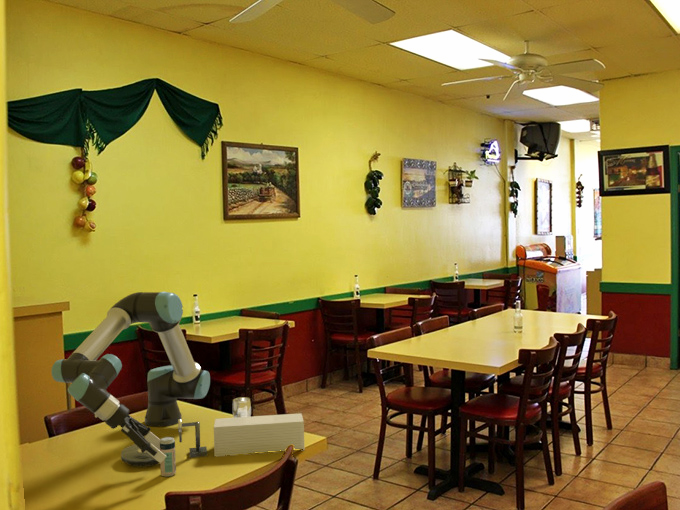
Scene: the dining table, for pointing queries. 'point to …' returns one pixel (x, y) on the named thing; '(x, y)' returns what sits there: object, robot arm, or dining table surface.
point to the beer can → (168, 456)
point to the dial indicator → (198, 450)
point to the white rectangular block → (258, 434)
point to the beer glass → (241, 407)
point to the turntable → (136, 456)
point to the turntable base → (145, 464)
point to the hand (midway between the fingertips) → (162, 453)
